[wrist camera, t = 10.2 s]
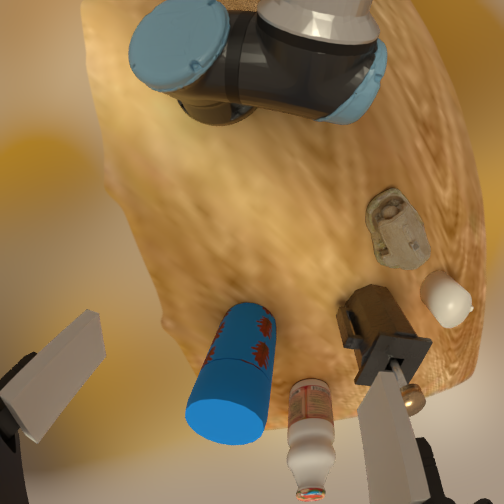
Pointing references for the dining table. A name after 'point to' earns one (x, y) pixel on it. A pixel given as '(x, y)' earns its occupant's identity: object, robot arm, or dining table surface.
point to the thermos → (235, 378)
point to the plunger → (408, 390)
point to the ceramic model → (397, 231)
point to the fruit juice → (310, 437)
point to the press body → (379, 334)
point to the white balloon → (445, 299)
